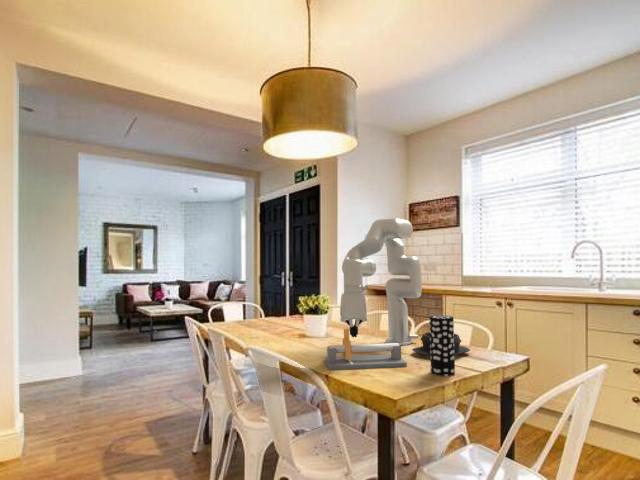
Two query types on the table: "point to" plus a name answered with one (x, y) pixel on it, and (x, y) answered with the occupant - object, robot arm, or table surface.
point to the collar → (347, 345)
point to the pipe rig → (365, 357)
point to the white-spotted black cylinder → (442, 345)
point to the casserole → (426, 345)
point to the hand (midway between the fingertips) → (353, 336)
